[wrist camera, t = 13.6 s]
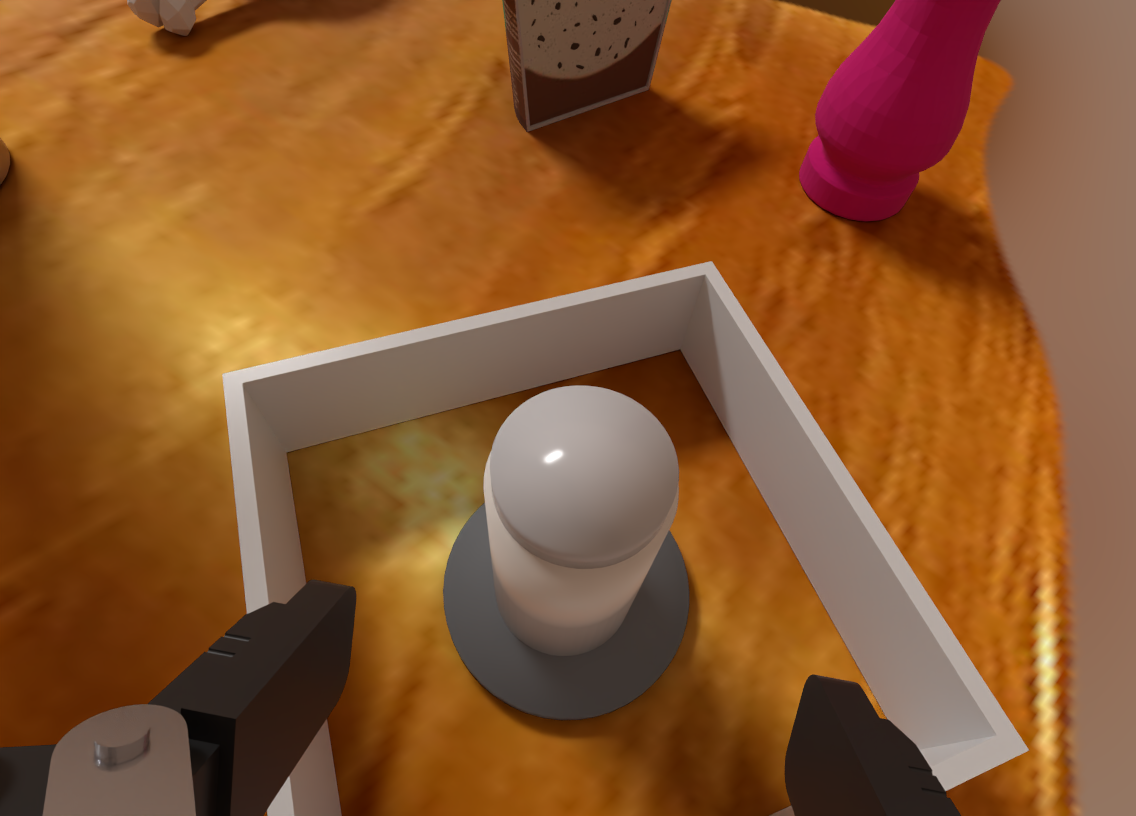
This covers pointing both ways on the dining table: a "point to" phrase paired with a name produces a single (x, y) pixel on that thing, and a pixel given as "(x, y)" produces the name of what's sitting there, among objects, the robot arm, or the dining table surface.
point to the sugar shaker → (576, 514)
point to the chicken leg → (167, 13)
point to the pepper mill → (894, 107)
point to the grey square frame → (584, 345)
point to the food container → (579, 54)
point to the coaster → (562, 680)
